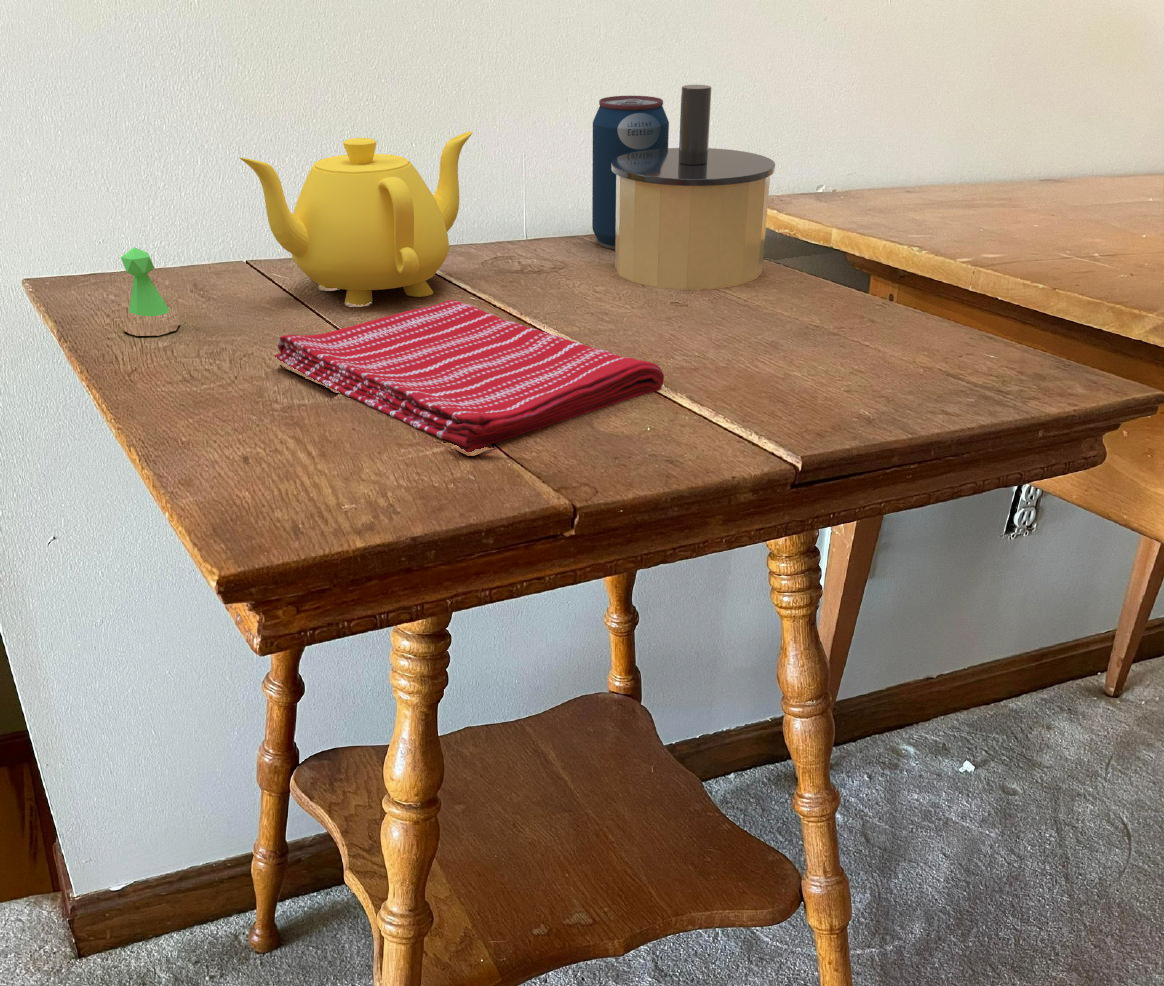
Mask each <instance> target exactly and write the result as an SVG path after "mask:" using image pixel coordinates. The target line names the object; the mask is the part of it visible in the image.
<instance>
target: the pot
mask: <svg viewBox="0 0 1164 986" xmlns="http://www.w3.org/2000/svg"><path fill="white" fill-rule="evenodd" d="M770 182H771V176H769V177H766V178H764V179H760V180H757V181H752V182H747V183H740V184H731V185H717V186H677V185H662V184H653V183H645V182H640V181H634V180H630V179H627V178H623V177H621V176H618V175H616V242H615V249H614V251H615V254H614V258H615V259H614V269H615V271H616V273H617V275H618V276H619V277H620V278H622V279H624V280H627V281H628V282H631V283H634V284H639V285H642V286H648V287H652V288H656V289H667V290H668V289H669V290H681V291H696V290H697V291H698V290H699V291H700V290H719V289H724V288H730V287H737V286H742V285H745V284H747V283H750V282H752V281H755V280H756V279H757V280H758V278H759V277H760V275H761V274H762V273H763V270H764V269H763V268H764V256H765V244H766V243H765V242H766V232H767V221H768V220H767V218H768V207H769V196H770Z"/></svg>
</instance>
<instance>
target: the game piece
mask: <svg viewBox="0 0 1164 986" xmlns="http://www.w3.org/2000/svg"><path fill="white" fill-rule="evenodd" d="M120 260H121V261H122V265H123V267H124V269H125V271H126V274H128V275H132V276H133V282H132V287H131V288H132V289H131V294H130V301H129V302H130V303H129V309H128V313H129V312H130V313H134V314H135V315H141V316H157V315H162V314H163V315H164V314H166V313H168V311H169V310H170V308H169V307H168V305H167V303H166V302H165V300H164V299H163V297H162V296H161V294H160V292H159V291H158V289H157V287H156V286H155V284H154V282H153V281H152V280H151V278H150V276H149V273H151V272H152V271H153V270H154V269H155V266H154V263H153V260H152V258H151V256H150V254H149V252H148V251H145V250H143V249H140V248H137V247H133V248H131V249H130V250H128V251H127V252H126V253H124V254H123V255H121V256H120Z"/></svg>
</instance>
